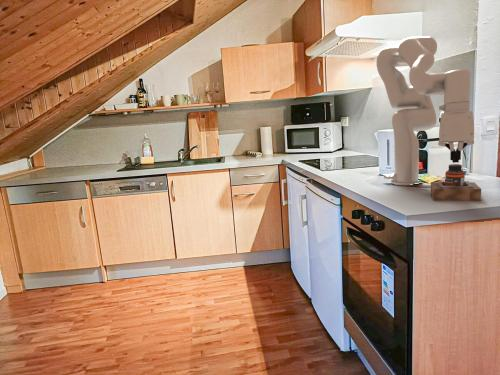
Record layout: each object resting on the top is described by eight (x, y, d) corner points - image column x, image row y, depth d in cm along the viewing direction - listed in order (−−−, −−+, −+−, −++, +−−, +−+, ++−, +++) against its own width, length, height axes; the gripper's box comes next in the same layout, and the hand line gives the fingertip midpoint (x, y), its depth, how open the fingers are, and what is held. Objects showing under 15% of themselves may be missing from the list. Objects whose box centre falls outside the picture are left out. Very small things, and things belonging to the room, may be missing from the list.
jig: (433, 200, 123) (433, 187, 122) (430, 192, 134) (430, 180, 133) (480, 200, 117) (481, 187, 117) (474, 193, 128) (474, 180, 127)
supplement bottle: (442, 197, 126) (442, 165, 124) (447, 194, 130) (448, 163, 128) (461, 199, 122) (462, 166, 120) (466, 195, 126) (467, 163, 124)
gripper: (432, 110, 120) (432, 164, 123) (485, 105, 114) (483, 162, 117) (430, 110, 126) (430, 161, 129) (480, 106, 121) (478, 160, 124)
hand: (455, 162), depth 123 cm, fingers closed
